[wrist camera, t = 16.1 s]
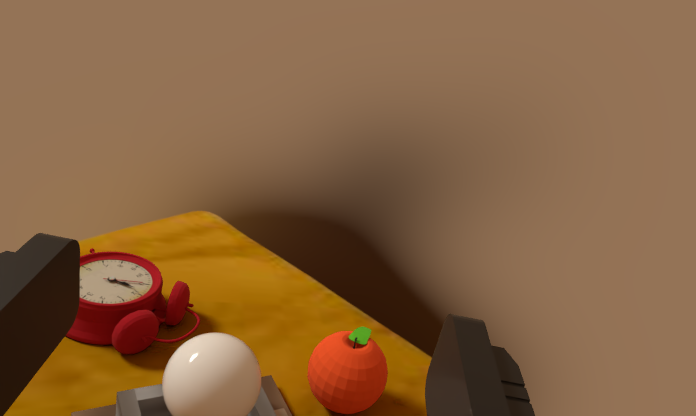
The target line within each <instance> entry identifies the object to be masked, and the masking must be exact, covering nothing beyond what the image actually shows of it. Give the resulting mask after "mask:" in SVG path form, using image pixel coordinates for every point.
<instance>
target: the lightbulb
mask: <svg viewBox="0 0 696 416" xmlns="http://www.w3.org/2000/svg"><path fill="white" fill-rule="evenodd" d="M260 389H261V371H260V366H259V363H258V360H257V358H256V356H255V355H254V353H253V351H252V350H251V349H250V348H249V347H248V346H247V345H246V344H245V343H244V342H243V341H241V340H240V339H238V338H236V337H234V336H232V335H229V334H225V333H216V332H214V333H205V334H201V335H198V336H195V337H193V338H191V339H189V340H188V341H186V342H185V343H183V344H182V345H181V346H180V347H179V348H178V349H177V350H176V351H175V352H174V353H173V355H172V356H171V358H170V359H169V361H168V363H167V366H166V368H165V371H164V375H163V381H162V391H163V397H164V401H165V404H166V406H167V408H168V410H169V412H170V414H171V415H172V416H248V414H249V413H250V412H251V410H252V409H253V407H254V406H255V404H256V402H257V399H258V397H259V393H260Z"/></svg>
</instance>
